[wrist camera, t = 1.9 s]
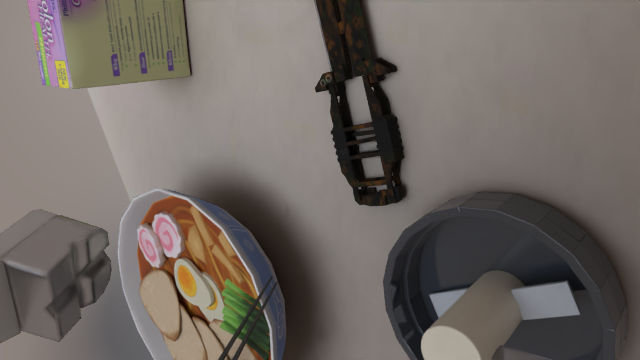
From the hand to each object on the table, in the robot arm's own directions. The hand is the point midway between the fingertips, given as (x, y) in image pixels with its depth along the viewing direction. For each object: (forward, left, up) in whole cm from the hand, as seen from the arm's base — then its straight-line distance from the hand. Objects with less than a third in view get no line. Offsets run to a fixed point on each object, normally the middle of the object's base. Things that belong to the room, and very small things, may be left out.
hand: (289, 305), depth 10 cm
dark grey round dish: (+5, +12, -24) cm, 28 cm away
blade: (+5, +12, -24) cm, 27 cm away
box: (+37, -10, -25) cm, 45 cm away
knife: (+16, -6, -25) cm, 30 cm away
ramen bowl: (+32, +16, -25) cm, 43 cm away
